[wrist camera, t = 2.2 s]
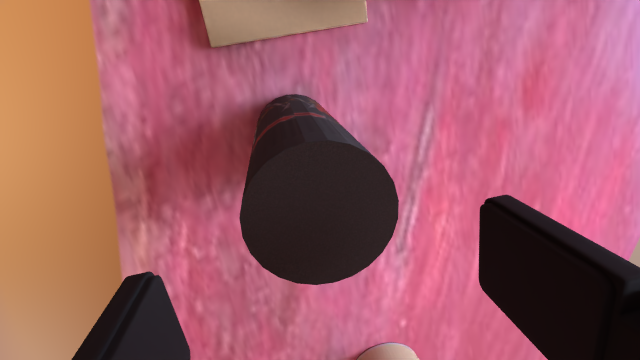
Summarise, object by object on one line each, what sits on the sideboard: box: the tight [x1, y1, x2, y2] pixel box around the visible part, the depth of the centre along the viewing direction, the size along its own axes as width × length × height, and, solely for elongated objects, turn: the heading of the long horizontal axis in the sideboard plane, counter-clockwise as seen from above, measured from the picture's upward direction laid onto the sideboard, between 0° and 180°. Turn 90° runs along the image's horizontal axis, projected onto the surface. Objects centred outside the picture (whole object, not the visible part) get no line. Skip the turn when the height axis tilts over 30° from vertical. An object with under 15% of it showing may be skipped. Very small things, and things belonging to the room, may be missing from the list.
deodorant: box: [240, 94, 399, 285], centre depth 19 cm, size 6×6×15 cm
